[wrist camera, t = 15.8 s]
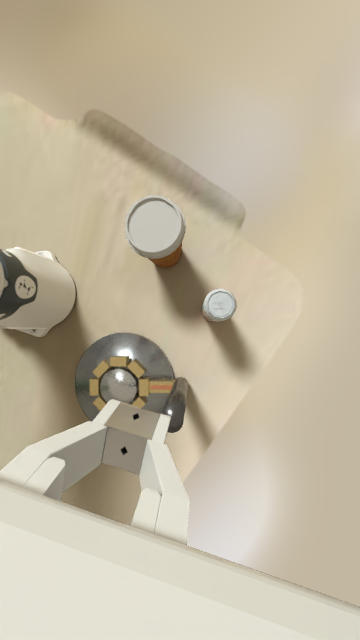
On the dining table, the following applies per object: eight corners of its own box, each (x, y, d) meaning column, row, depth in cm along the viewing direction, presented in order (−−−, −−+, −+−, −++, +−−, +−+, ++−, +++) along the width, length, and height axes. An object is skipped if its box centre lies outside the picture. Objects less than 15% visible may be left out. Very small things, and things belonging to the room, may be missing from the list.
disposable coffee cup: (139, 269, 41) (114, 247, 29) (150, 226, 41) (130, 186, 29) (182, 280, 40) (175, 262, 28) (193, 235, 40) (192, 198, 28)
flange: (73, 424, 42) (61, 433, 38) (83, 327, 42) (72, 328, 38) (169, 439, 40) (166, 450, 36) (179, 338, 40) (177, 339, 36)
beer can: (226, 320, 39) (239, 319, 27) (203, 322, 40) (205, 322, 28) (224, 296, 39) (235, 285, 27) (200, 299, 40) (202, 289, 28)
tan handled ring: (94, 413, 40) (39, 462, 26) (94, 355, 40) (38, 373, 26) (189, 415, 38) (184, 468, 24) (187, 355, 38) (182, 373, 24)
